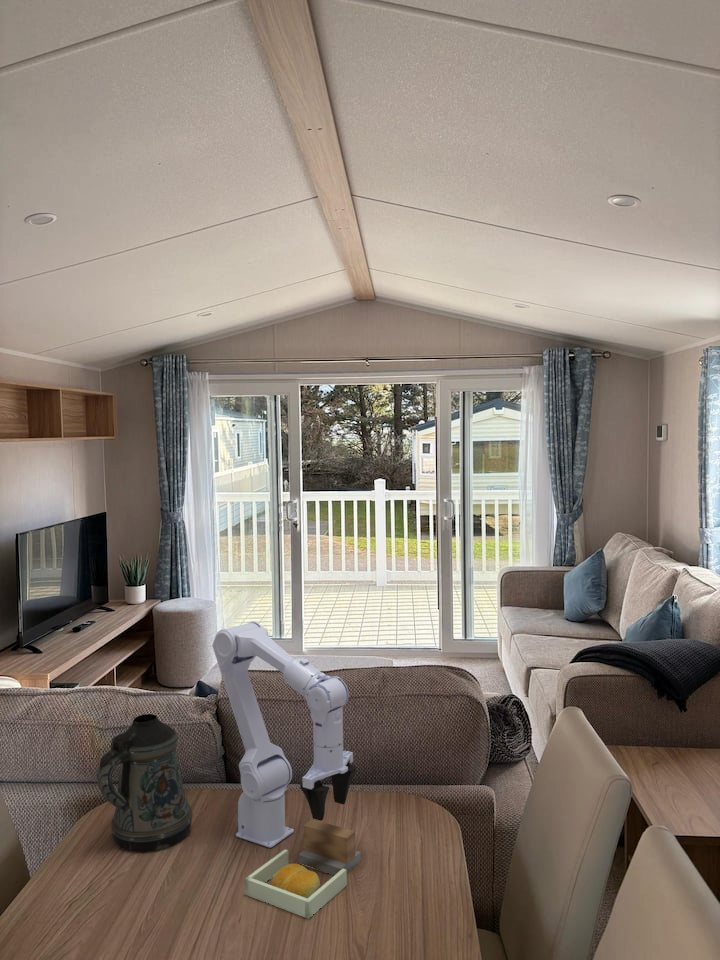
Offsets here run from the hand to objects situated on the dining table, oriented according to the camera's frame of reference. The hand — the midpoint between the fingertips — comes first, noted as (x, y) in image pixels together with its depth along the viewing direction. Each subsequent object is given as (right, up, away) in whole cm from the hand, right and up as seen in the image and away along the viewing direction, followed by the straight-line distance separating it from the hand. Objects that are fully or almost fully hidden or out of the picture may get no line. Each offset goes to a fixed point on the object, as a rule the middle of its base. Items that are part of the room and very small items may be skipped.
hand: (329, 810), depth 156 cm
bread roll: (-6, -11, -8) cm, 15 cm away
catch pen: (-6, -11, -9) cm, 15 cm away
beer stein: (-38, -10, +11) cm, 41 cm away
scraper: (0, -11, +1) cm, 11 cm away
